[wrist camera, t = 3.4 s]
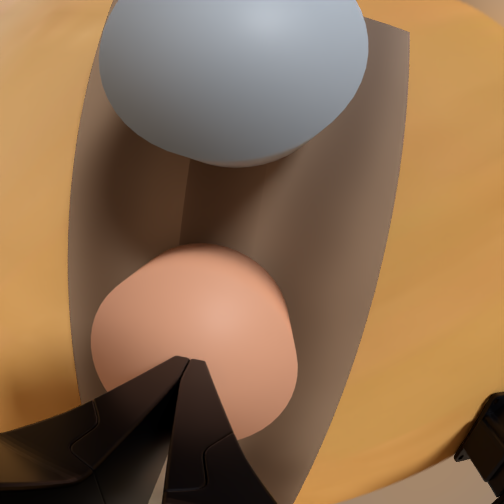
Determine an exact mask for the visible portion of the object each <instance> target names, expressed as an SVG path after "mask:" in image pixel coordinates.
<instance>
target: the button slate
mask: <svg viewBox="0 0 504 504" xmlns="http://www.w3.org/2000/svg"><path fill="white" fill-rule="evenodd" d="M367 58H368V34H367V29H366V24H365V21H364V18H363V15H362V12H361V10H360V8H359V6H358V4H357V2H356V0H118V2H117V3H116V5H115V6H114V8H113V10H112V12H111V14H110V15H109V17H108V20H107V22H106V25H105V27H104V30H103V34H102V38H101V42H100V50H99V72H100V76H101V81H102V86H103V88H104V91H105V93H106V96H107V98H108V100H109V102H110V104H111V105H112V107H113V109H114V110H115V112H116V113H117V114H118V116H119V117H120V118H121V119H122V121H123V122H124V123H125V124H126V125H127V126H128V127H129V128H131V129H132V130H133V131H134V132H135V133H136V134H137V135H139V136H141V137H142V138H144V139H145V140H147V141H148V142H150V143H151V144H153V145H156V146H158V147H160V148H162V149H164V150H166V151H169V152H172V153H175V154H178V155H182V156H185V157H188V158H191V159H194V160H197V161H200V162H203V163H206V164H209V165H215V166H220V167H230V168H243V167H253V166H259V165H264V164H267V163H270V162H274V161H276V160H279V159H281V158H283V157H286V156H288V155H290V154H291V153H293V152H295V151H296V150H298V149H299V148H301V147H302V146H303V145H305V144H306V143H307V142H308V141H310V140H311V139H312V138H313V137H314V136H316V135H317V134H318V133H319V132H321V131H322V130H323V129H324V128H325V127H327V126H328V125H329V124H330V123H332V122H333V121H334V120H335V119H336V118H337V117H338V116H339V114H340V113H341V112H342V111H343V110H344V109H345V108H346V107H347V105H348V104H349V102H350V101H351V100H352V98H353V97H354V95H355V93H356V91H357V89H358V88H359V86H360V84H361V81H362V78H363V75H364V72H365V69H366V65H367Z"/></svg>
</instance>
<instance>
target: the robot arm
mask: <svg viewBox="0 0 504 504" xmlns="http://www.w3.org/2000/svg"><path fill="white" fill-rule="evenodd" d="M167 456H168V458H167ZM166 458H167V465H166V473H165V480H164V488H163V496H162V504H278V503H277V502H276V500H275V499H274V498H273V496H272V495H271V494H270V492H269V491H268V489H267V488H266V487H265V485H264V484H263V483H262V481H261V480H260V478H259V477H258V475H257V474H256V473H255V471H254V469H253V468H252V466H251V465H250V463H249V462H248V460H247V458H246V457H245V455H244V453H243V451H242V449H241V447H240V445H239V442H238V440H237V438H236V436H235V434H234V431H233V429H232V427H231V424H230V422H229V420H228V417H227V415H226V412H225V410H224V407H223V405H222V403H221V400H220V398H219V395H218V393H217V390H216V387H215V385H214V382H213V380H212V377H211V375H210V372H209V369H208V367H207V364H206V362H205V361H203V360H198V359H191V360H190V359H189V358H187V357H182V356H174V357H172V358H170V359H168V360H166V361H164V362H163V363H161V364H159V365H157V366H155V367H153V368H152V369H150V370H148V371H146V372H144V373H142V374H140V375H139V376H137V377H135V378H133V379H131V380H129V381H127V382H125V383H123V384H122V385H120V386H118V387H116V388H114V389H112V390H110V391H108V392H106V393H104V394H102V395H100V396H98V397H96V398H94V399H93V400H90V401H88V402H86V403H84V404H82V405H80V406H78V407H76V408H73V409H71V410H69V411H67V412H64V413H62V414H59V415H56V416H54V417H51V418H48V419H45V420H42V421H39V422H36V423H33V424H30V425H27V426H24V427H21V428H18V429H14V430H11V431H7V432H3V433H0V504H148V503H149V500H150V498H151V495H152V493H153V490H154V488H155V485H156V483H157V480H158V478H159V475H160V473H161V470H162V468H163V465H164V463H165V461H166ZM454 459H455V461H456V462H459V461H463V460H467V459H471V461H472V462H473V464H474V466H475V467H476V469H477V470H478V472H479V473H480V475H481V477H482V478H483V480H484V481H485V482H488V484H489V485H490V487H491V488H492V490H493V492H494V494H495V495H496V497H499V496H500V497H499V498H497V499H496V500H495V501H494V502H493V503H492V504H504V392H499V393H495V394H493V395H492V396H491V397H490V399H489V400H488V402H487V404H486V406H485V407H484V409H483V411H482V413H481V415H480V416H479V418H478V420H477V421H476V423H475V425H474V426H473V428H472V430H471V431H470V433H469V434H468V436H467V437H466V439H465V441H464V442H463V444H462V445H461V447H460V448H459V450H458V451H457V452H456V454H455V455H454Z"/></svg>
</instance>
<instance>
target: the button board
mask: <svg viewBox="0 0 504 504" xmlns="http://www.w3.org/2000/svg"><path fill="white" fill-rule="evenodd" d="M117 2H118V0H113V2H112V5H111V8H110V11H109V13H108V16H107V19H106V22H107V20H108V17H109V15H110V14H111V12H112V10H113V8H114V6H115V5H116V3H117ZM363 18H364V21H365V24H366V29H367V34H368V58H367V65H366V69H365V72H364V75H363V78H362V81H361V84H360V86H359V88H358V89H357V91H356V93H355V95H354V97H353V98H352V100H351V101H350V102H349V104H348V105H347V107H346V108H345V109H344V110H343V111H342V112H341V113H340V114H339V116H338V117H337V118H336V119H335V120H334V121H333V122H332V123H330V124H329V125H328V126H327V127H325V128H324V129H323V130H322V131H321V132H319V133H318V134H317V135H316V136H314V137H313V138H312V139H311V140H310V141H308V142H307V143H306V144H305V145H303V146H302V147H301V148H299V149H298V150H296V151H295V152H293V153H291V154H290V155H288V156H286V157H283V158H281V159H279V160H276V161H274V162H270V163H267V164H264V165H259V166H253V167H243V168H230V167H220V166H215V165H209V164H206V163H203V162H200V161H197V160H194V159H191V158H188V157H185V156H182V155H178V154H175V153H172V152H169V151H166V150H164V149H162V148H160V147H158V146H156V145H153V144H151V143H150V142H148V141H147V140H145V139H144V138H142V137H141V136H139V135H137V134H136V133H135V132H134V131H133V130H132V129H131V128H129V127H128V126H127V125H126V124H125V123H124V122H123V121H122V119H121V118H120V117H119V116H118V114H117V113H116V112H115V110H114V109H113V107H112V105H111V104H110V102H109V100H108V98H107V96H106V93H105V91H104V88H103V86H102V81H101V76H100V72H99V50H100V42H101V38H102V34H103V31H102V34H101V38H100V41H99V44H98V48H97V51H96V55H95V58H94V62H93V66H92V69H91V73H90V77H89V82H88V86H87V90H86V95H85V99H84V104H83V109H82V114H81V120H80V125H79V131H78V137H77V144H76V151H75V158H74V166H73V175H72V185H71V196H70V210H69V230H68V289H69V309H70V323H71V335H72V344H73V353H74V361H75V369H76V375H77V382H78V388H79V394H80V399H81V405H82V404H84V403H86V402H88V401H90V400H93V399H94V398H96V397H98V396H100V395H102V394H104V393H106V392H107V391H106V389H105V388H104V386H103V384H102V382H101V381H100V378H99V376H98V374H97V371H96V369H95V365H94V362H93V358H92V352H91V332H92V325H93V322H94V319H95V315H96V313H97V311H98V309H99V307H100V305H101V304H102V302H103V301H104V299H105V298H106V297H107V295H108V294H109V293H110V292H111V291H112V290H113V289H114V288H115V287H116V286H118V285H119V284H120V283H122V282H123V281H124V280H125V279H127V278H128V277H129V276H131V275H132V274H133V273H135V272H136V271H137V270H138V269H140V268H141V267H142V266H144V265H145V264H146V263H148V262H149V261H150V260H152V259H153V258H155V257H156V256H158V255H159V254H161V253H163V252H165V251H167V250H169V249H171V248H174V247H177V246H181V245H186V244H194V243H207V244H216V245H220V246H225V247H228V248H231V249H234V250H236V251H239V252H241V253H242V254H244V255H246V256H248V257H250V258H251V259H253V260H254V261H255V262H257V263H258V264H259V265H260V266H262V267H263V268H264V269H265V270H266V271H267V272H268V273H269V274H270V276H271V277H272V278H273V279H274V281H275V282H276V284H277V285H278V287H279V288H280V290H281V292H282V295H283V297H284V299H285V302H286V306H287V309H288V314H289V319H290V324H291V329H292V334H293V339H294V344H295V349H296V355H297V362H298V372H297V381H296V386H295V389H294V392H293V394H292V397H291V399H290V401H289V402H288V404H287V406H286V408H285V409H284V410H283V411H282V413H281V414H280V415H279V416H278V417H277V418H276V419H275V420H274V421H273V422H272V423H271V424H269V425H268V426H266V427H265V428H264V429H262V430H260V431H258V432H257V433H255V434H253V435H251V436H248V437H245V438H243V439H240V440H238V442H239V445H240V447H241V449H242V451H243V453H244V455H245V457H246V458H247V460H248V462H249V463H250V465H251V466H252V468H253V469H254V471H255V473H256V474H257V475H258V477H259V478H260V480H261V481H262V483H263V484H264V485H265V487H266V488H267V489H268V491H269V492H270V494H271V495H272V496H273V498H274V499H275V500H276V502H277V503H278V504H293V503H294V501H295V499H296V497H297V495H298V493H299V491H300V489H301V488H302V485H303V483H304V481H305V479H306V477H307V475H308V473H309V471H310V469H311V467H312V465H313V463H314V460H315V458H316V456H317V454H318V452H319V449H320V447H321V445H322V443H323V440H324V438H325V436H326V433H327V431H328V428H329V426H330V424H331V421H332V419H333V416H334V414H335V411H336V409H337V406H338V403H339V401H340V398H341V396H342V393H343V390H344V387H345V385H346V382H347V379H348V376H349V374H350V371H351V368H352V365H353V362H354V359H355V356H356V353H357V350H358V347H359V344H360V340H361V337H362V334H363V331H364V327H365V324H366V321H367V317H368V314H369V310H370V307H371V303H372V300H373V296H374V292H375V288H376V284H377V280H378V277H379V272H380V268H381V264H382V260H383V256H384V251H385V247H386V242H387V237H388V233H389V228H390V223H391V218H392V212H393V207H394V201H395V195H396V189H397V183H398V177H399V170H400V163H401V156H402V148H403V139H404V130H405V120H406V109H407V95H408V78H409V32H407V31H404V30H402V29H399V28H396V27H393V26H390V25H388V24H385V23H381V22H378V21H375V20H372V19H369V18H365V17H363ZM106 22H105V25H106ZM105 25H104V27H105ZM103 30H104V28H103Z"/></svg>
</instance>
